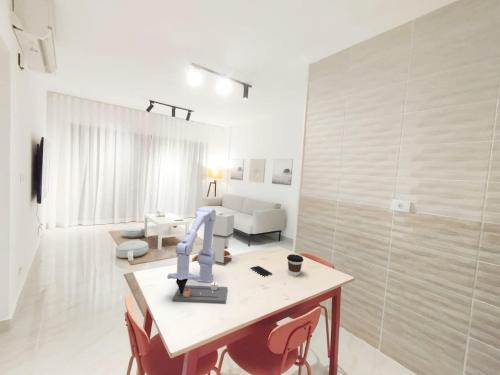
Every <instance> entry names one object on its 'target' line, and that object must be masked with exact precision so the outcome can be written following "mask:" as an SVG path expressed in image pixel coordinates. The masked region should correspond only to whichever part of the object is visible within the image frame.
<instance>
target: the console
mask: <svg viewBox="0 0 500 375" xmlns="http://www.w3.org/2000/svg"><path fill="white" fill-rule="evenodd" d="M185 288H190V289H191V294H190V296H189V297H183V294H180V291H179V287H178V288H177V289H176V292H175V293H174V295H173V297H172V302H175V303H176V302H177V303H197V304H198V303H199V304H200V303H201V304H220V305H222V304H223V305H224V304H225V305H226V303H227V295H228V289H229V287H228V286H218V287H217V290H211V285H210V286H209V285H207V286H206V285H193V284H188V285H187V284H186V285H185ZM185 288H184V289H185Z"/></svg>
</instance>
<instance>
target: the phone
mask: <svg viewBox="0 0 500 375" xmlns="http://www.w3.org/2000/svg"><path fill="white" fill-rule="evenodd" d="M251 269H252V270H251ZM250 270H251V271H253V272H254V271H255V272H254V273H256V272H257V273H256V274H258V275H259V274H260V276H261V275H262V276H261V277H263V276H264V277H263V278H266V277H265V276H267V277H269V276H268V275H270V276H273V272H271V271H269V270H267V269H265V268H264V267H262V266H260V265H256V266H251V267H250Z"/></svg>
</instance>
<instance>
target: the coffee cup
mask: <svg viewBox="0 0 500 375" xmlns="http://www.w3.org/2000/svg"><path fill="white" fill-rule="evenodd" d="M286 259H287V266H288V274H289V275H290V276H291V275H292V277H299V276H298V275H300V272H301V270H302V269H301V268H302V265H303V262H304V258H303V256H301V255H299V254H296V253H295V254H293V253H292V254H288V255H287V257H286Z"/></svg>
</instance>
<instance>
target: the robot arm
mask: <svg viewBox="0 0 500 375" xmlns="http://www.w3.org/2000/svg"><path fill="white" fill-rule="evenodd" d="M216 214H217V213H216V209H215V208H209V207H207V208H206V207H201V206H199V207H197V209H196V212H195V220H194V221H193V223H192V226H191V228H190V229H188V230H187V231H186V232H185V234H184V236H183V238H182V239H181V242H179V243H177V244H176V246H175V250H174V251H175V254H176V258H177V263H176V264H177V265H176V272H174V273H168V274H167V280H170V279H173V280H174V279H176V280H175V283H176V285H177V287H178V288H179V291H180V294H183V291H184V288H185V285H187V282H188V280H194V281H197V282H201V283H211V282H213V277H214V274H213V266H214V265H215V264H214V263H215V261H216V257H215V251H213V250H212V241H213V223H214V222H215V217H216ZM203 223H204V227H203V228H204V229H203V242H202V249H200V250H199V251H198V255H197V260H196V261H197V263H198V265H199V277H198V274H193V273H190V255H191V254H192V252H193V247H194V243H195V241H196V239H197V237H198V231H199V230H200V228H201V227H202V225H203Z"/></svg>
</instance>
